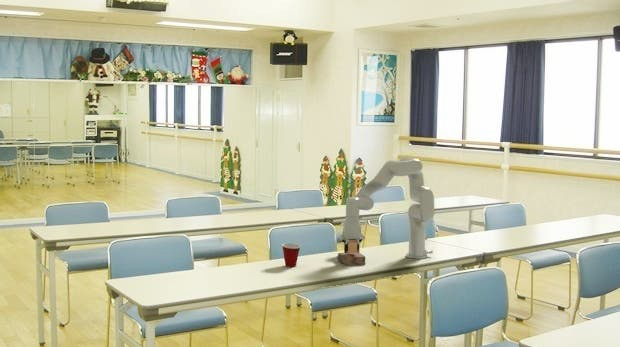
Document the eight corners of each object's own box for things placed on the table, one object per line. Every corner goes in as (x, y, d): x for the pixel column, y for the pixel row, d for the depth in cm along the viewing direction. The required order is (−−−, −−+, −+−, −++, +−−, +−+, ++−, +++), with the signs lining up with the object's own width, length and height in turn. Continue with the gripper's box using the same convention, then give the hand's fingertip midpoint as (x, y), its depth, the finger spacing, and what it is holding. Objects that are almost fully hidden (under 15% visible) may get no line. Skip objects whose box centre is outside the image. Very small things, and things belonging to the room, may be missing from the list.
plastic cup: (298, 269, 367) (298, 247, 366) (279, 267, 369) (279, 246, 368) (302, 264, 378) (303, 243, 376) (284, 263, 380) (284, 242, 379)
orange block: (355, 250, 386) (355, 240, 385) (356, 252, 381) (357, 242, 380) (346, 251, 385) (346, 240, 384) (348, 253, 380) (348, 242, 379)
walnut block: (357, 260, 391) (357, 251, 390) (365, 265, 380) (365, 256, 379) (337, 261, 388) (338, 252, 387) (344, 266, 376) (345, 257, 376)
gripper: (365, 217, 386) (364, 249, 388) (336, 218, 383) (335, 249, 385) (368, 220, 379) (368, 251, 380) (338, 220, 376) (338, 252, 378)
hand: (351, 250), depth 383 cm, fingers open, 5 cm apart
